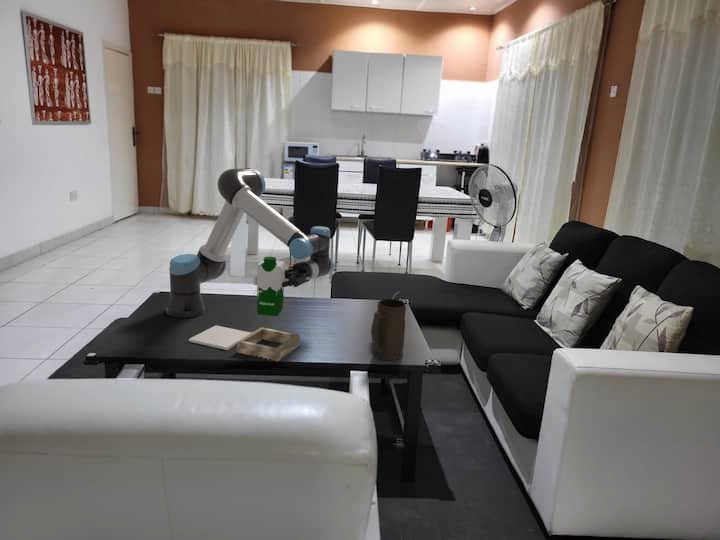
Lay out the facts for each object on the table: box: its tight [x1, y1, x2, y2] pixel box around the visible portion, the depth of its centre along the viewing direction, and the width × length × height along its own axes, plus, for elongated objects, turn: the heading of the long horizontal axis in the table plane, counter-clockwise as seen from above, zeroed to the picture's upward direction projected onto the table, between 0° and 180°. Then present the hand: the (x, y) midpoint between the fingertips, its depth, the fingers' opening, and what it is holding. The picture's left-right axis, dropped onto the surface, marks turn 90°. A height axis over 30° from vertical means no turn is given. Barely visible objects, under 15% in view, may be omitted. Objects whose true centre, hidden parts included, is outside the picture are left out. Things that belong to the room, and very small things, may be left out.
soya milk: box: [256, 256, 286, 317], centre depth 180 cm, size 9×9×20 cm
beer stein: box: [370, 298, 407, 361], centre depth 183 cm, size 15×11×20 cm
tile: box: [188, 324, 252, 351], centre depth 192 cm, size 16×16×1 cm
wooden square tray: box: [236, 326, 301, 362], centre depth 185 cm, size 16×16×4 cm
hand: (264, 283), depth 177 cm, fingers closed on soya milk, 8 cm apart
